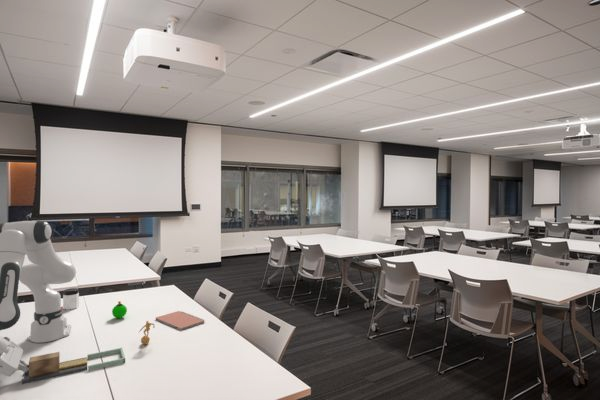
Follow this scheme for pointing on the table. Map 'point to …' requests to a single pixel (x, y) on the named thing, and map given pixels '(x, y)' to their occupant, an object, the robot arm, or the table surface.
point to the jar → (71, 299)
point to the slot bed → (53, 374)
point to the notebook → (180, 320)
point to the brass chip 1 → (66, 365)
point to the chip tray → (108, 363)
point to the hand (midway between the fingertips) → (27, 369)
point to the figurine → (145, 338)
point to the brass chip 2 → (80, 362)
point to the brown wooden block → (44, 364)
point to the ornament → (119, 310)
